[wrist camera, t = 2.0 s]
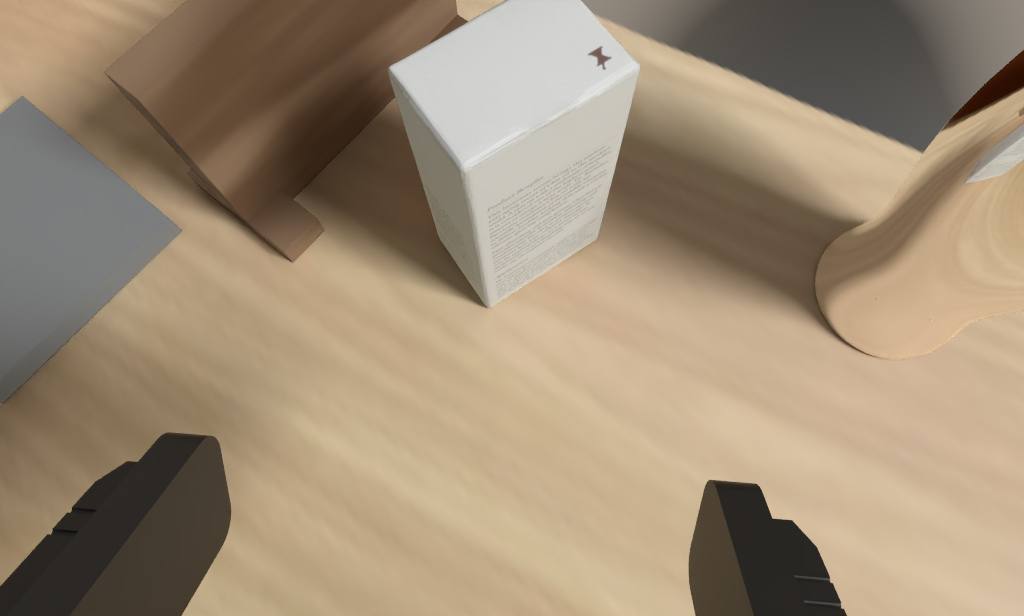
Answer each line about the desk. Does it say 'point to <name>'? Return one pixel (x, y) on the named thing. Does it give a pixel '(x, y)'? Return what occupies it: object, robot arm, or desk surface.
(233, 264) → the desk surface
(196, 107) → the walnut screen
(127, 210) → the grey mat
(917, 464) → the desk surface
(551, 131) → the skincare box
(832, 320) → the beer glass
